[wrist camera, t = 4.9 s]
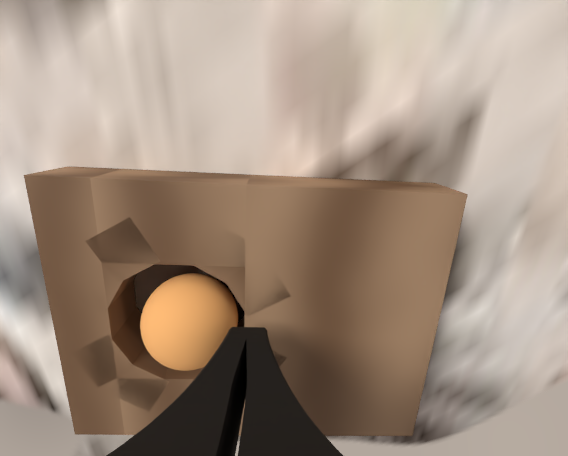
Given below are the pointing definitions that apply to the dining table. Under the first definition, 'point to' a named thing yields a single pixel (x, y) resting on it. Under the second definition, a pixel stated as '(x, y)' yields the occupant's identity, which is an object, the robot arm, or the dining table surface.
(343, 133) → the dining table surface
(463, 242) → the dining table surface
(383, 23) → the dining table surface
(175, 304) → the ball
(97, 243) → the board
